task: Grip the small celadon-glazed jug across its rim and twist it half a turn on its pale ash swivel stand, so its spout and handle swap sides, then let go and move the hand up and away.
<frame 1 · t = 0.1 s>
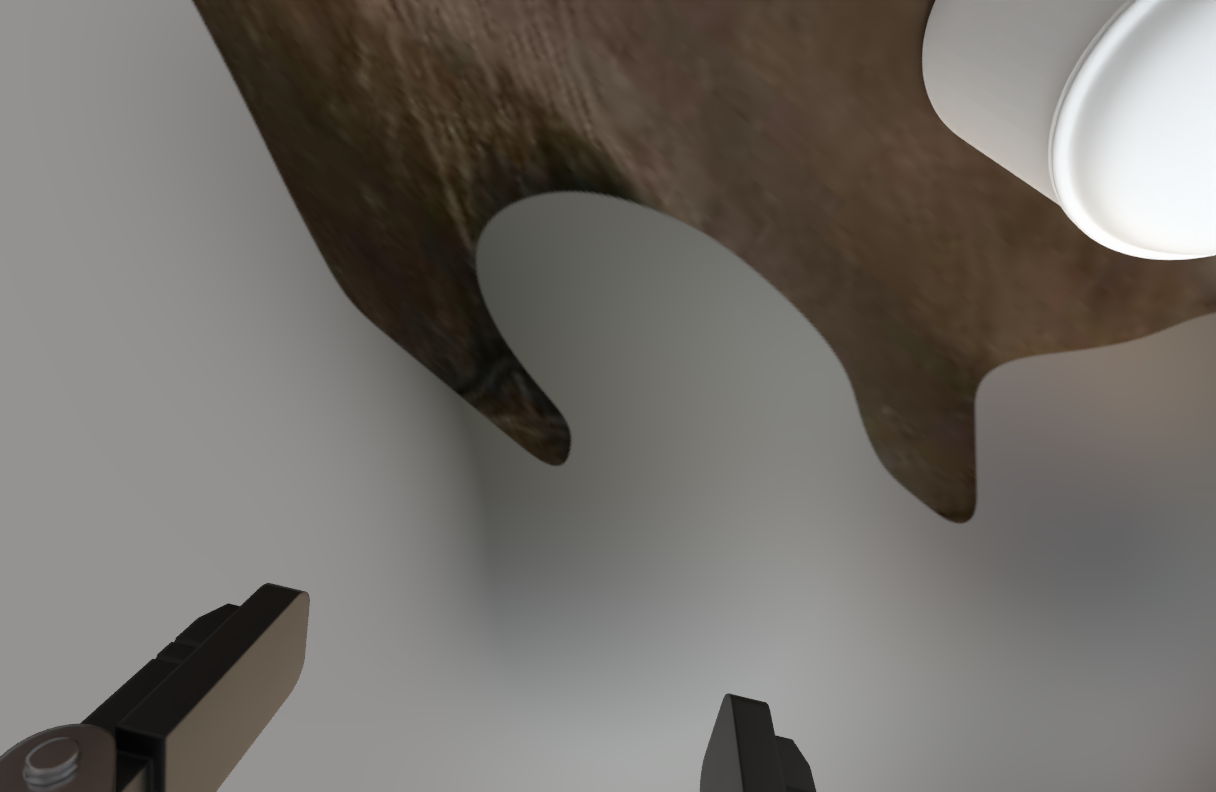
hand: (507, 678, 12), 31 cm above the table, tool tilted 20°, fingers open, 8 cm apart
coffeepot: (1033, 19, 31), on the table
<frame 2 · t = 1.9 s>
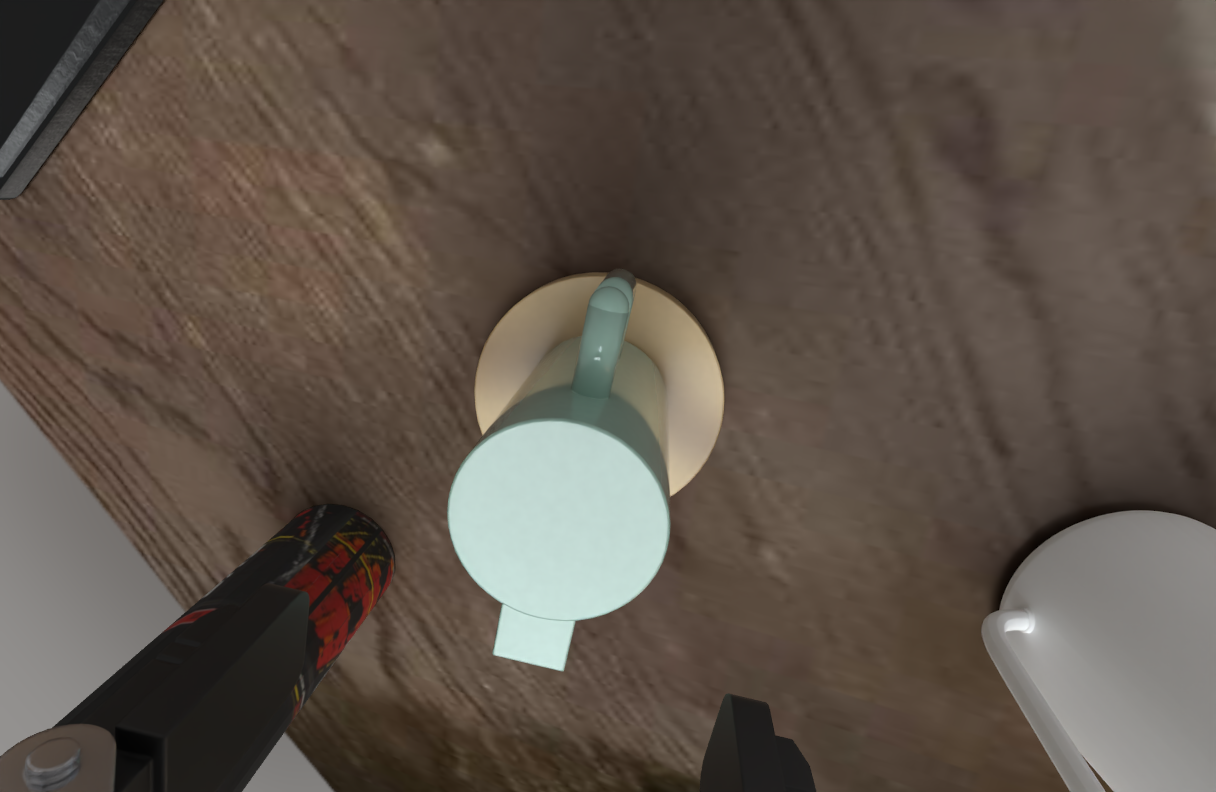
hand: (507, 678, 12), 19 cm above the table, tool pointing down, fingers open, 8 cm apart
deodorant: (340, 554, 34), on the table
jug: (585, 431, 23), point 7 cm above the table, hinge at 0.0°
phone: (27, 13, 27), on the table
stand: (600, 393, 30), on the table
coffeepot: (1096, 601, 31), on the table
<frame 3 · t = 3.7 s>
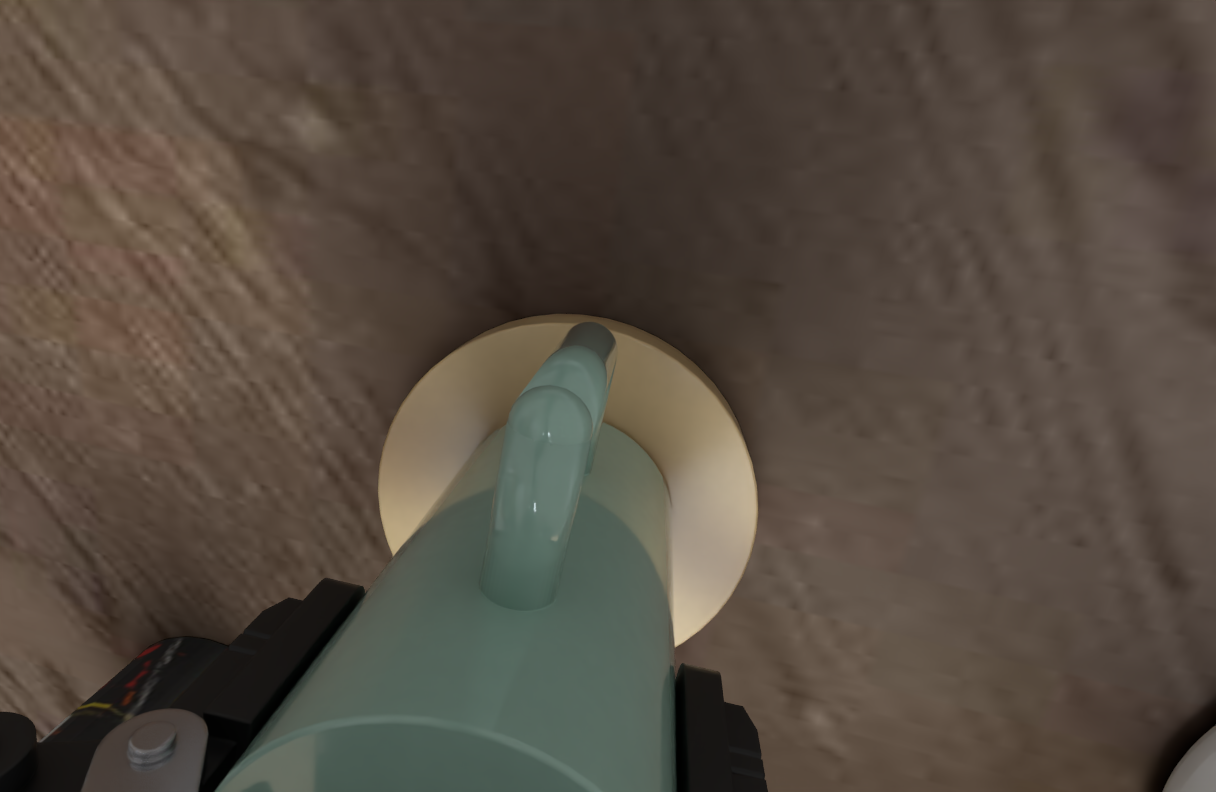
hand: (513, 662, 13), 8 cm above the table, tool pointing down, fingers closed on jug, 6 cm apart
deodorant: (209, 702, 24), on the table
jug: (528, 608, 13), point 7 cm above the table, hinge at 0.1°, touching gripper
stand: (570, 490, 20), on the table
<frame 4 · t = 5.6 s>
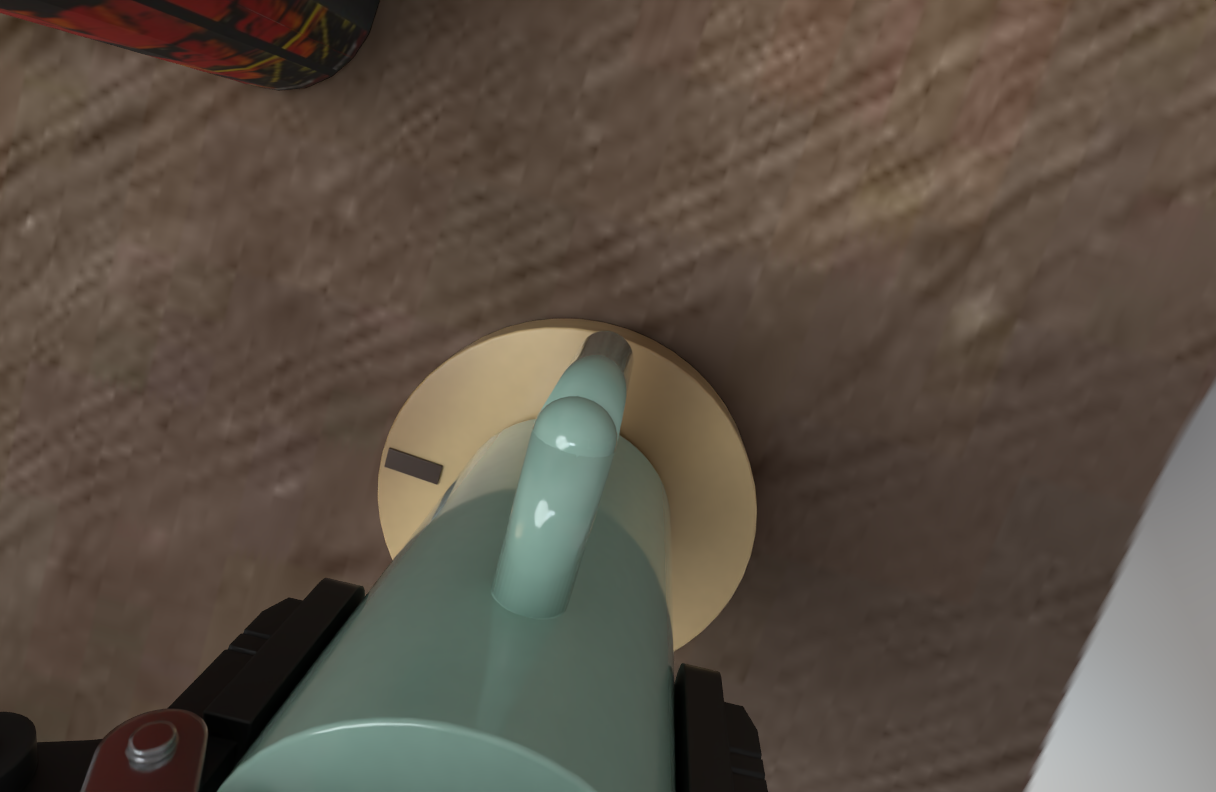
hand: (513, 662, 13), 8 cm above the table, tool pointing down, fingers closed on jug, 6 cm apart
jug: (529, 613, 13), point 7 cm above the table, hinge at 93.0°, touching gripper
stand: (570, 494, 20), on the table
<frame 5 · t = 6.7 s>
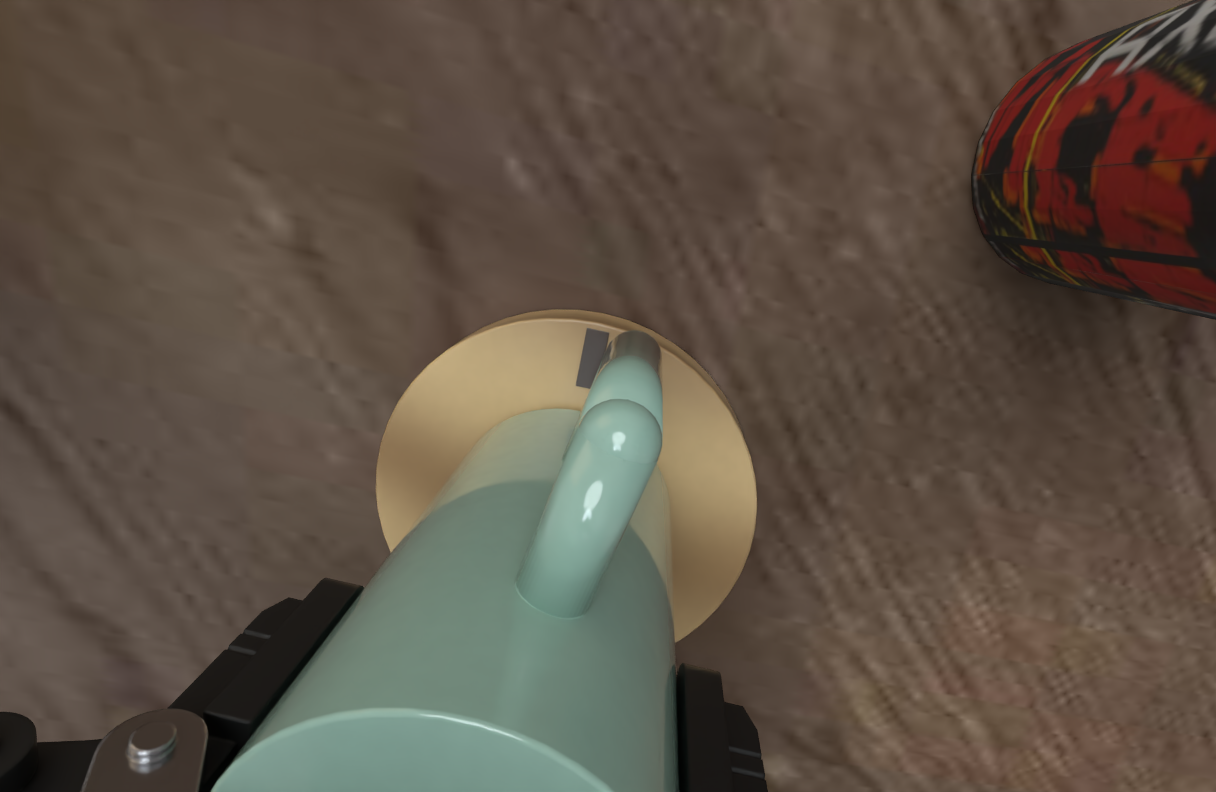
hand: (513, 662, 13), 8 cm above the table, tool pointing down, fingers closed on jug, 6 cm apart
deodorant: (1090, 167, 17), on the table
jug: (534, 606, 13), point 7 cm above the table, hinge at 169.6°, touching gripper
stand: (569, 486, 20), on the table
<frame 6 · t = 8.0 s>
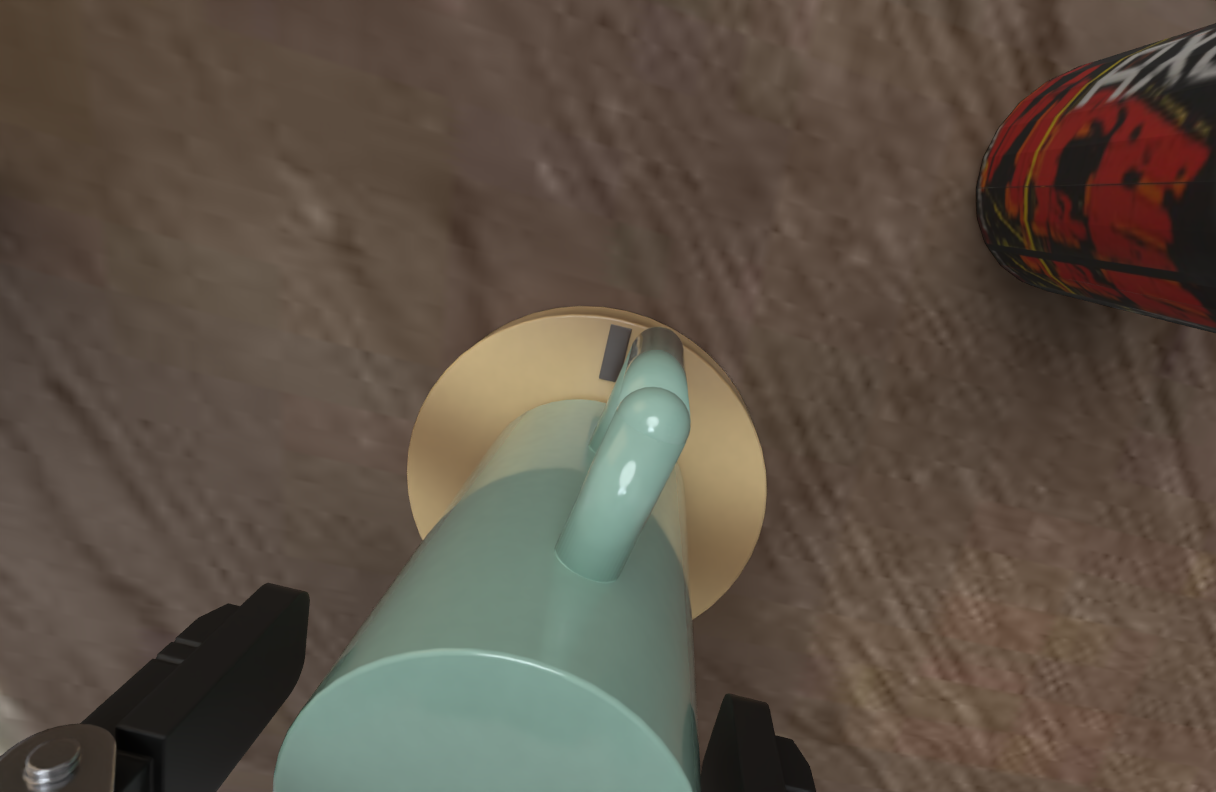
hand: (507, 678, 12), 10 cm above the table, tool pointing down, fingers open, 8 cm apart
deodorant: (1088, 182, 18), on the table
jug: (562, 578, 14), point 7 cm above the table, hinge at 169.8°
stand: (588, 474, 21), on the table
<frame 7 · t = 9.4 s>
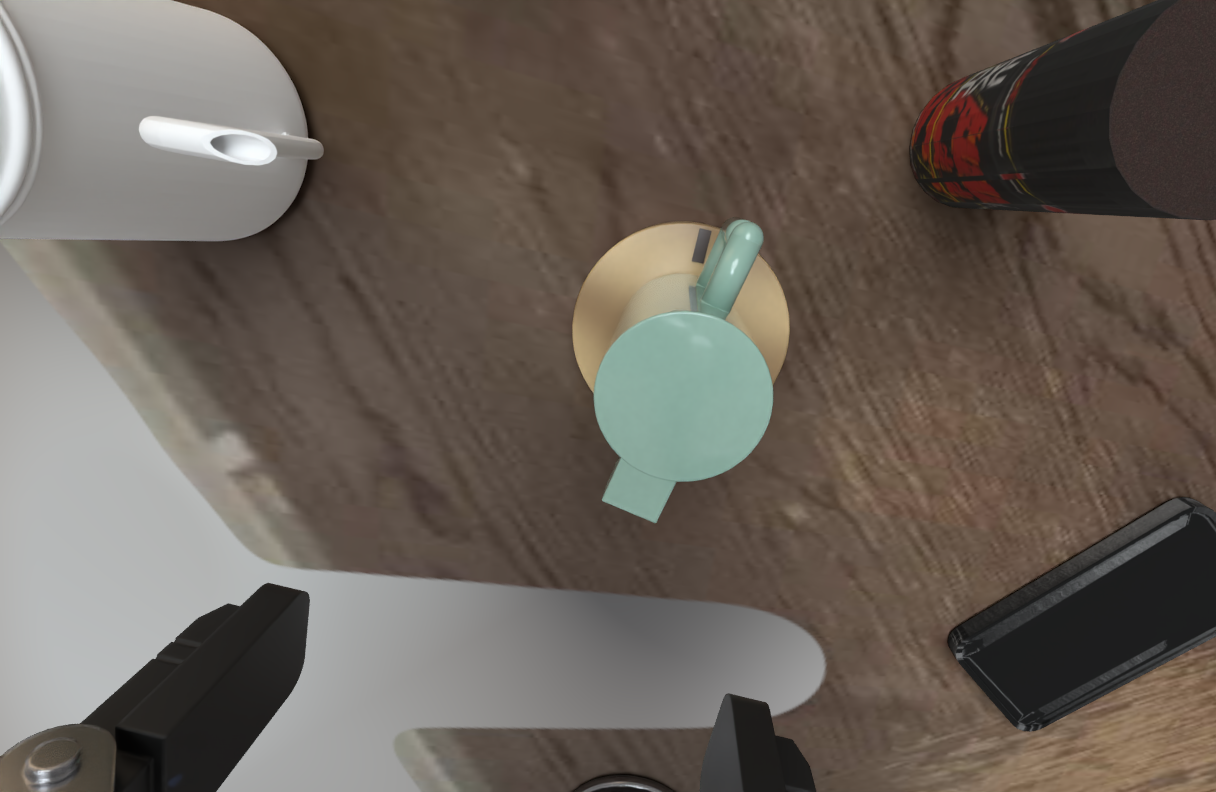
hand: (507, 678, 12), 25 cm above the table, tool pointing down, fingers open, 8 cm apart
deodorant: (973, 143, 31), on the table
jug: (687, 345, 28), point 7 cm above the table, hinge at 169.8°
phone: (1094, 612, 37), on the table
stand: (678, 328, 35), on the table
coffeepot: (227, 133, 34), on the table
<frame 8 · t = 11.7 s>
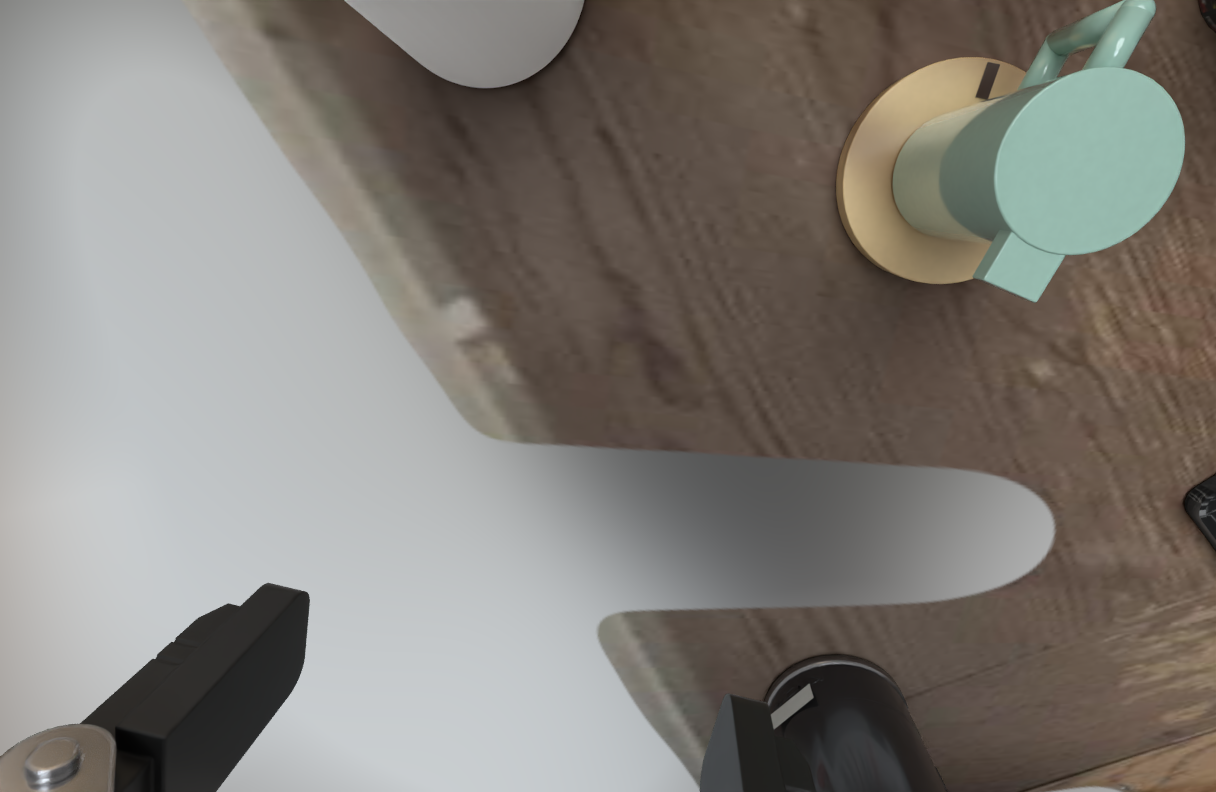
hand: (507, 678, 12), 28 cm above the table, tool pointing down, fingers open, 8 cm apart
jug: (1019, 153, 28), point 7 cm above the table, hinge at 169.8°
stand: (941, 176, 35), on the table
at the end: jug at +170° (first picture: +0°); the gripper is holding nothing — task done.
